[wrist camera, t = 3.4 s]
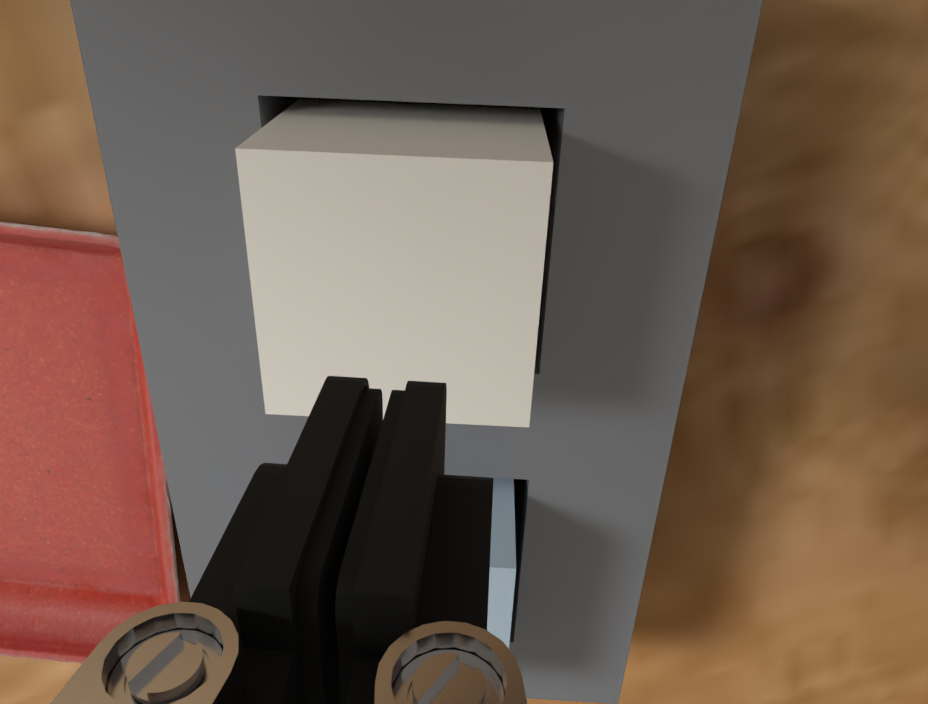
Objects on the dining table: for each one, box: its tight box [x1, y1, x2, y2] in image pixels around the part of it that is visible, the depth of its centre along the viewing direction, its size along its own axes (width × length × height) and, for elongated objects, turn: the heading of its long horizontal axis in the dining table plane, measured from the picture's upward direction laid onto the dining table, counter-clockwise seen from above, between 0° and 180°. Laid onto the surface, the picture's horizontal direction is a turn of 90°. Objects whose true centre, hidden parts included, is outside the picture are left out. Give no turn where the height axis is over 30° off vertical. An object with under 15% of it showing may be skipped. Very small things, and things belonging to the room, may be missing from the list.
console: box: [70, 0, 763, 704], centre depth 22 cm, size 22×14×5 cm, turn 178°
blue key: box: [487, 478, 516, 648], centre depth 22 cm, size 6×6×5 cm
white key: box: [235, 99, 553, 427], centre depth 17 cm, size 6×6×5 cm
